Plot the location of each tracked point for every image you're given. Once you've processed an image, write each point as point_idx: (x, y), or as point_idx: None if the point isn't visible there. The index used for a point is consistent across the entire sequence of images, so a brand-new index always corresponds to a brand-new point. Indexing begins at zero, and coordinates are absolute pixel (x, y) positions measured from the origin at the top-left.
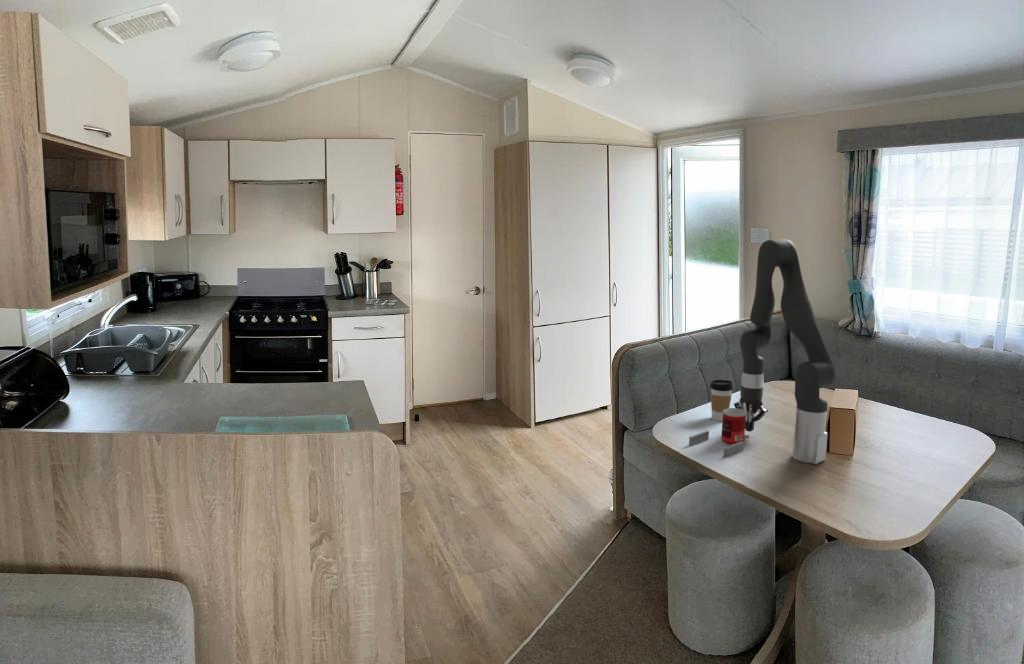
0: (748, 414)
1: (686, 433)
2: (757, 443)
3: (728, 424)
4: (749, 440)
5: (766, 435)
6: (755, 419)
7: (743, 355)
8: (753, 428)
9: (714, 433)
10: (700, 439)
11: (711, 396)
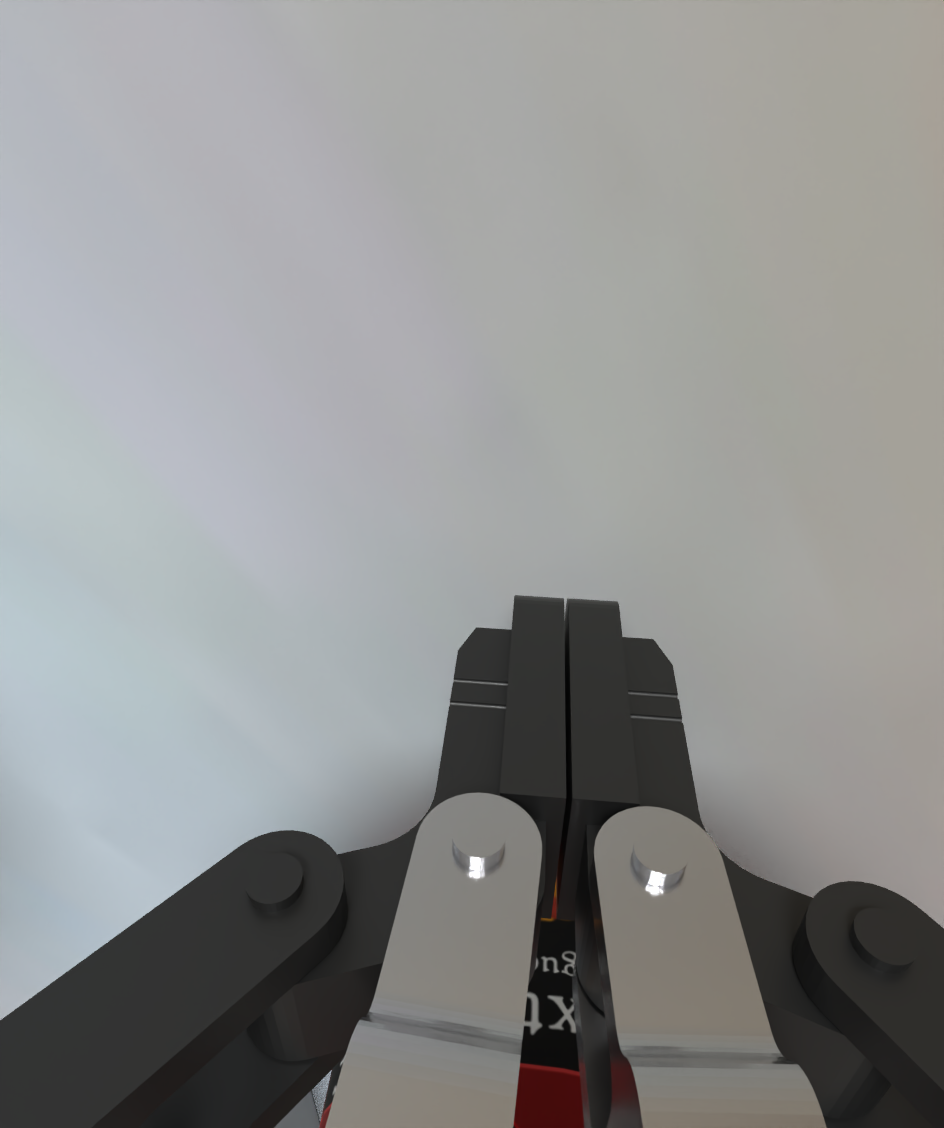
0: (433, 1015)
1: (4, 991)
2: (886, 820)
3: None
4: (713, 792)
5: (928, 340)
6: (851, 1109)
7: None
8: (671, 687)
9: (158, 848)
10: (298, 1118)
11: None
